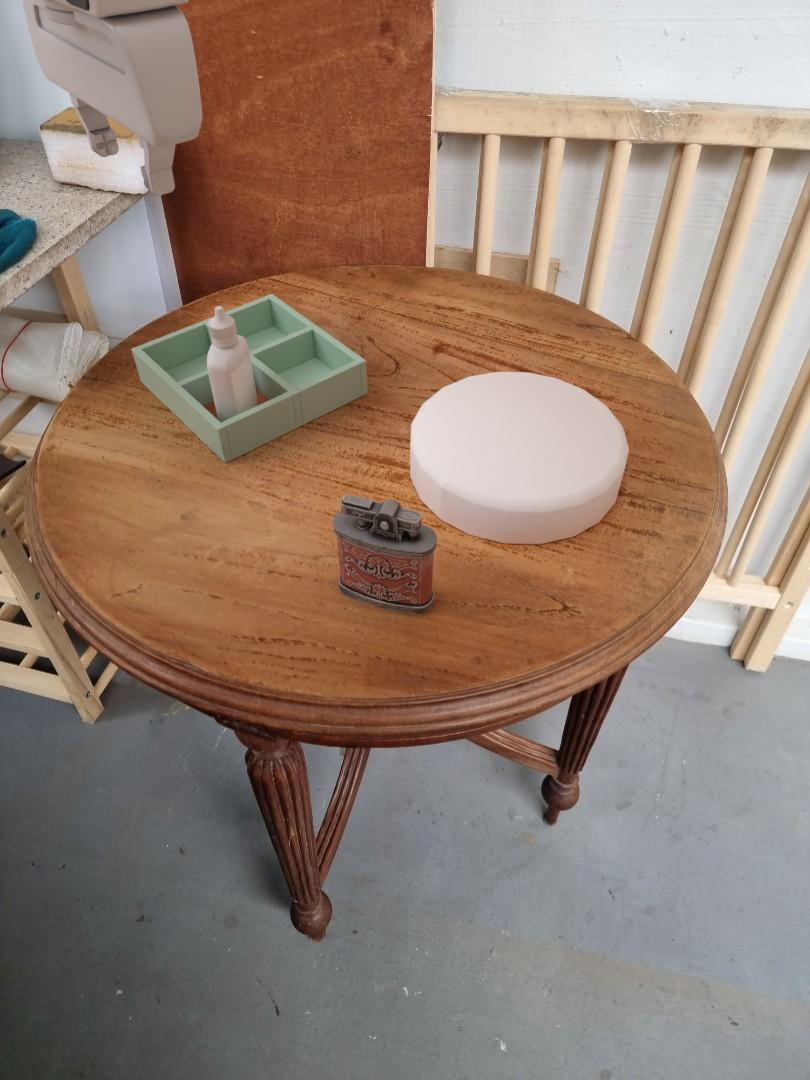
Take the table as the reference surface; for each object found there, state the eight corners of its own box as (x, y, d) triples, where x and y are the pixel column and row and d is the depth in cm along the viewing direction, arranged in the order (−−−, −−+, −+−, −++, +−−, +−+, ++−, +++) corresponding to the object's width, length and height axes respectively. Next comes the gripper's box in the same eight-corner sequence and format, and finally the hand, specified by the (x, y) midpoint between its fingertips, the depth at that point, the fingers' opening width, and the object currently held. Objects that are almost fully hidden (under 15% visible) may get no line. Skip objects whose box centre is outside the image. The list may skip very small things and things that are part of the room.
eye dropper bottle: (274, 410, 79) (258, 303, 70) (233, 438, 76) (210, 329, 67) (245, 394, 81) (226, 287, 72) (203, 420, 78) (178, 312, 69)
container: (546, 385, 83) (552, 347, 80) (664, 502, 71) (678, 464, 67) (375, 436, 77) (374, 398, 74) (472, 574, 65) (476, 535, 61)
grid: (225, 463, 74) (217, 429, 71) (140, 381, 83) (130, 348, 80) (367, 393, 82) (366, 360, 79) (276, 325, 91) (271, 293, 88)
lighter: (439, 590, 64) (443, 502, 56) (426, 621, 61) (429, 534, 54) (348, 565, 65) (341, 477, 58) (332, 595, 63) (323, 507, 56)
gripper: (-23, -65, 55) (41, 141, 65) (103, -10, 44) (156, 227, 54) (63, -74, 58) (111, 125, 68) (200, -25, 47) (234, 203, 57)
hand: (132, 171), depth 61 cm, fingers open, 8 cm apart
